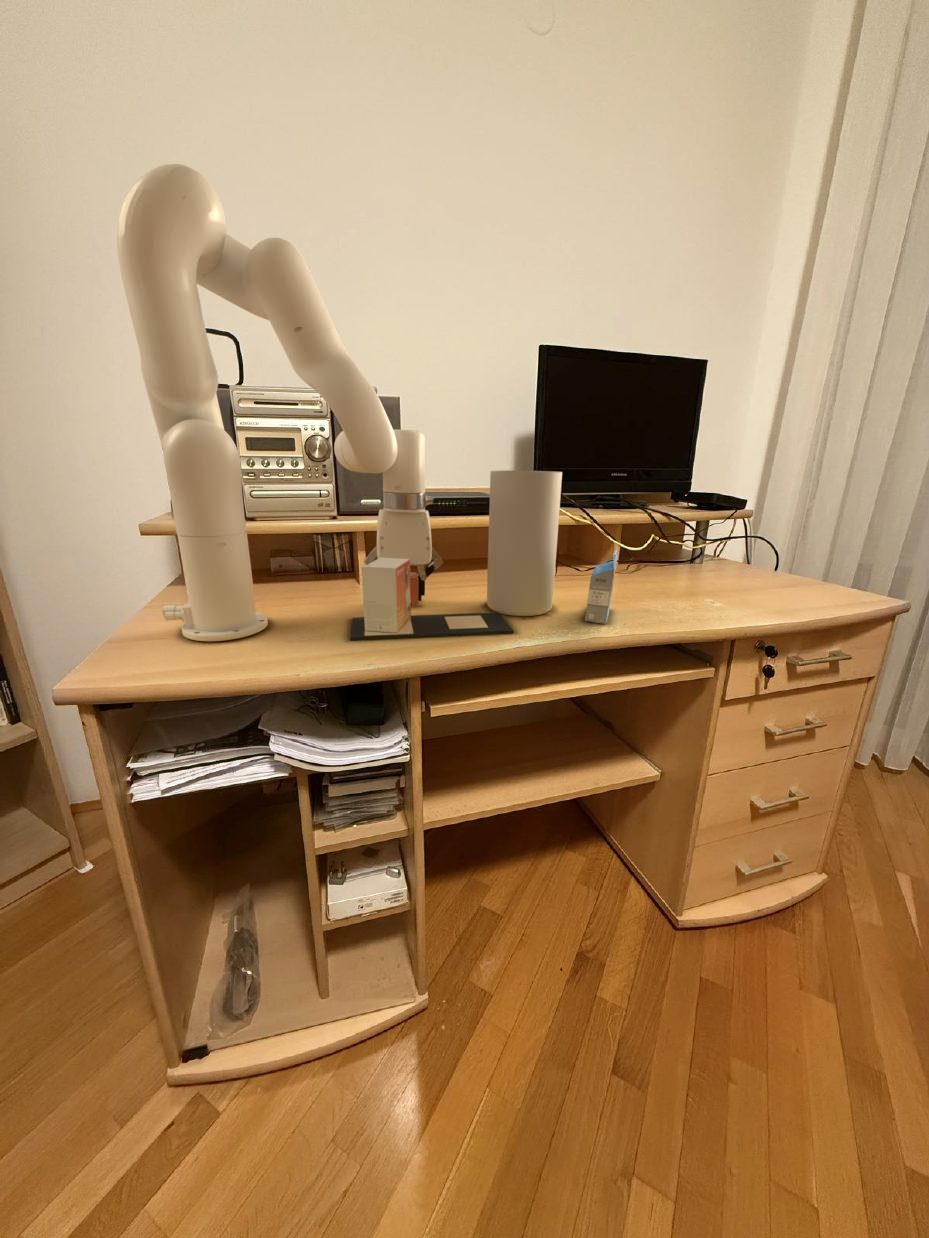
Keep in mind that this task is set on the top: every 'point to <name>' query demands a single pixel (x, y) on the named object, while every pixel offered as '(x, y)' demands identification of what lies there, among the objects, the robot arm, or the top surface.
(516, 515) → the cylinder vase
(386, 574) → the small box
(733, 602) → the top surface
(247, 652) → the top surface
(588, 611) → the label tape box
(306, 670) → the top surface
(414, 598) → the red block
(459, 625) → the mat
